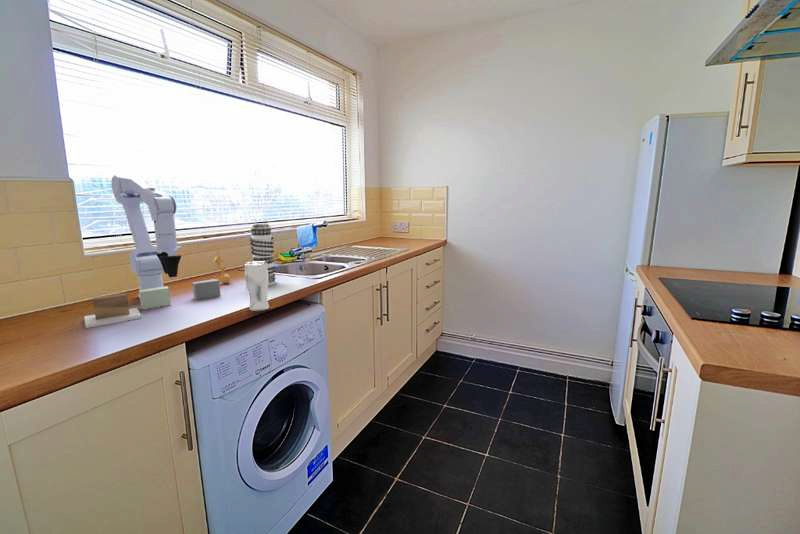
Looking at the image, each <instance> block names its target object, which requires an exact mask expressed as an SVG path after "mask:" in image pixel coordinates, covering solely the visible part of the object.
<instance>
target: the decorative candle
mask: <svg viewBox="0 0 800 534" xmlns="http://www.w3.org/2000/svg"><path fill="white" fill-rule="evenodd" d="M271 228H272V226H270V225H269V223H266V222H264V223H263V222H262V223H261V222H260V223H259V222H258V223H254V224H252V226H251V227H250V230H251V231H250V233H251V237H250V238H249V242H250V243H249V245H250V246H251V247H250V250H251V252H250V253H251V254H252V255H251V257H252V258H253V262H258V261H262V262H267V269H268V286H272V285H275V284H276V274H275V273H276V270H274V269H275V266H274V261H273V260H274V259H273V257H274V252H275V251H274V250H273V248H274V242H273V241H272V240H274V237H273V236H272V231H271Z"/></svg>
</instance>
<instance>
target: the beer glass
mask: <svg viewBox="0 0 800 534" xmlns="http://www.w3.org/2000/svg"><path fill="white" fill-rule="evenodd" d="M244 279H245V284H246V288H247V289H246V290H247V291H248V295H249V308H248V309H249V311H251V312H263V311H266V310H268V309H269V308H270V304H269V300H268V288H269V285H268V269H267V262H262V261H258V262H254V261H248V262H246V263H244Z"/></svg>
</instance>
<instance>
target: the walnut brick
mask: <svg viewBox="0 0 800 534" xmlns="http://www.w3.org/2000/svg"><path fill="white" fill-rule="evenodd" d="M92 303H93V304H92V305H93V310H94V315H95V317H96V320H98V319H105V318H111V317H117V316H123V315H129V314H130V313H129V309H130V308H129V301H128V294H127V292H122V293H115V294H108V295H102V296H94V297H92Z"/></svg>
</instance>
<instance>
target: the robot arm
mask: <svg viewBox="0 0 800 534" xmlns="http://www.w3.org/2000/svg"><path fill="white" fill-rule="evenodd" d="M111 190H112V193H113V196H114V199H115V201H116V202H117V203H119V204H121V206H122V208H123V210H124V212H125V217H126V219H127V220H126V221H127V223H128V226H129V230H130V233H131V236H132V238H133V243H134V245H135V248H134V249H133V250H132V251H131V252H130V253H129V256H128V258H129V265H130V266H129V267H130V269H131V272H132V273H134V274H135V275H137V277H138V278H137V280H138V286H139V290H143V289H151V288H158V287H164V281H163V273H164V274H165V275H167V276H168V278H176V277H177V276H178V271H179V270H178V269H179V264H180V260H181V258H182V255H180V254H179V255H176V254H177V253H176V252H177V251H178V250H181V249H183V247H182V246H181V245H179V246H178V242H177V241H178V239H177V233H176V232H177V231H176V224H175V217H174V215H175V214H176V213H177V203H176V201H175V199H174V198H173V196H172V195H168V196H165V195H164V194H163V193H162V192H160V191H159V189H157V188H156V187H155V186H150V184H149V181H148V179H147V178H146V176H143V175H142V176H134V175H133V176H131V175H129V176H128V175H117V174H116V175H113V176H112V178H111ZM142 203H144V204H145V205H147V207H148V212H149V213H150V217H151V220H152V221H153V226H154V236H155V243H156V245H155V246H154V245H153V244H152V241H151V238H150V235H149V231H148V228H147V226H146V222H145V218H144V215H143V213H142V212H143V211H142V208H141V204H142ZM137 297H138V298H139V299H140V295H139V294H137Z"/></svg>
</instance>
